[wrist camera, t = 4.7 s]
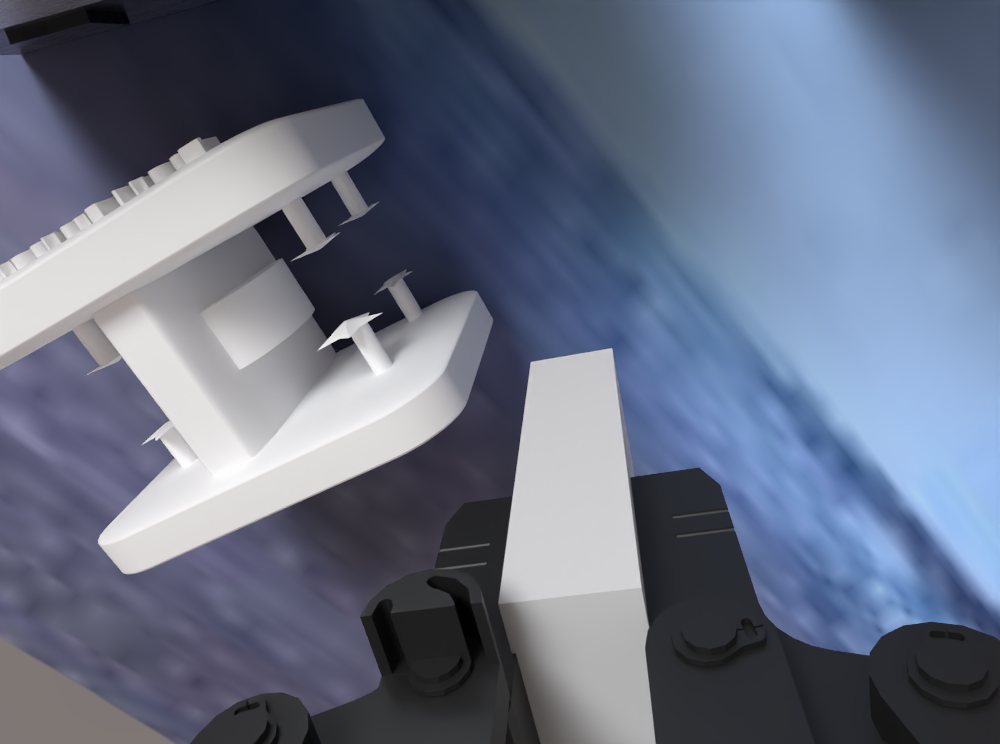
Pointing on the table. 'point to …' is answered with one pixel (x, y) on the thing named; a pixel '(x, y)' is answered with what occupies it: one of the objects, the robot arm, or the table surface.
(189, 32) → the table surface
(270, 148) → the cable organizer
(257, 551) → the table surface
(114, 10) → the box
